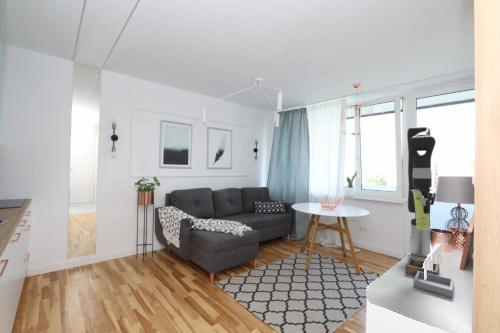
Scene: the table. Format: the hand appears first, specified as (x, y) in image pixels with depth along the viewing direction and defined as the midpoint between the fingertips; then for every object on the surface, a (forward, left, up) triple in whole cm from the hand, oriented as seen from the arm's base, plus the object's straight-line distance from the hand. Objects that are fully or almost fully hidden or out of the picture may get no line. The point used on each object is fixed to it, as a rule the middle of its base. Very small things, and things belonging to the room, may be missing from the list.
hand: (422, 212), depth 115 cm
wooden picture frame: (0, 0, -29) cm, 29 cm away
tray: (+13, -6, -29) cm, 33 cm away
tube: (0, 0, -9) cm, 9 cm away
